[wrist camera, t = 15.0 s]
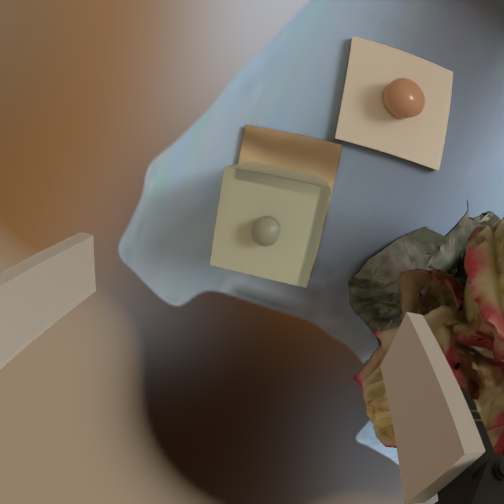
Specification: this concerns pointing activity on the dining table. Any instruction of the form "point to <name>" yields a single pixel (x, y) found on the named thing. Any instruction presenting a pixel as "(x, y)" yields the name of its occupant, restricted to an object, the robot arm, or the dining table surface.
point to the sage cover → (269, 221)
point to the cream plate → (376, 119)
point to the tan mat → (291, 153)
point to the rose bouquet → (440, 313)
